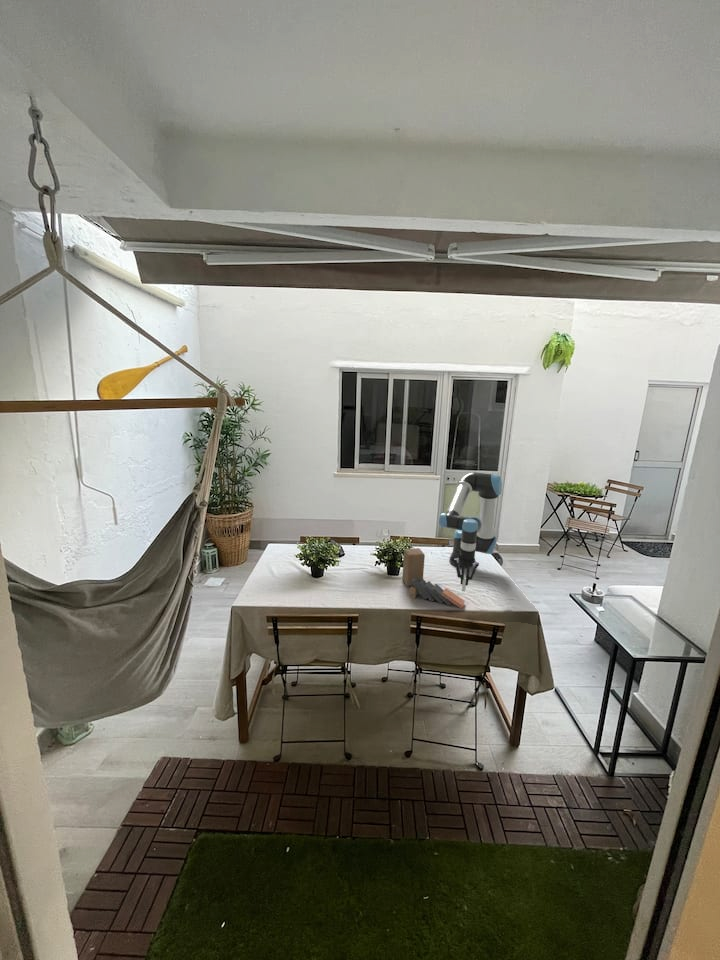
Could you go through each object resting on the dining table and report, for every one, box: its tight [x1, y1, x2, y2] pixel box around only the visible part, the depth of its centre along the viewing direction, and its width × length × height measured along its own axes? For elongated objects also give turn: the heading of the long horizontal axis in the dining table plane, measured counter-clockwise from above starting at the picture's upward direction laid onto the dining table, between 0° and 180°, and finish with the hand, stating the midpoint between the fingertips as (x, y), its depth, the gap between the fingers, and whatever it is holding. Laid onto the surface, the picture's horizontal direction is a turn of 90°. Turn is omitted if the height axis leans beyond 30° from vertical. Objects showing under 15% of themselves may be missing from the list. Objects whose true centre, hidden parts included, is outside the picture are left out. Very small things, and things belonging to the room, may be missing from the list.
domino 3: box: [424, 580, 444, 604], centre depth 224 cm, size 2×6×12 cm
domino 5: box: [442, 587, 466, 609], centre depth 220 cm, size 2×6×12 cm
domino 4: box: [431, 583, 453, 606], centre depth 222 cm, size 2×6×12 cm
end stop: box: [409, 584, 420, 600], centre depth 228 cm, size 8×3×6 cm, turn 157°
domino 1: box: [411, 576, 429, 600], centre depth 226 cm, size 2×6×12 cm
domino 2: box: [417, 577, 436, 603], centre depth 225 cm, size 2×6×12 cm
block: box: [402, 547, 425, 587], centre depth 241 cm, size 10×10×20 cm
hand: (463, 590), depth 217 cm, fingers closed
